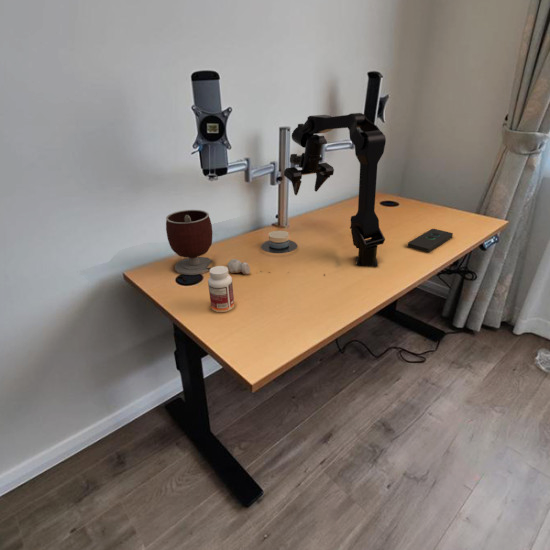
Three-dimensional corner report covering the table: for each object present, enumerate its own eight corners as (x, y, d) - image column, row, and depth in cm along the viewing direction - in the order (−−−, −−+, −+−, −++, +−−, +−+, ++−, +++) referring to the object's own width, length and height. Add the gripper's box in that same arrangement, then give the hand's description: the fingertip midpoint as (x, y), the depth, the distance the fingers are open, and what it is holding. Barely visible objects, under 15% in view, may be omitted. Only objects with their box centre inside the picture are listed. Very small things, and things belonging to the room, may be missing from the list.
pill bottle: (224, 298, 101) (220, 262, 96) (239, 306, 98) (236, 268, 92) (206, 307, 97) (201, 270, 92) (221, 315, 94) (217, 277, 88)
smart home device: (454, 232, 136) (429, 248, 124) (453, 237, 137) (428, 253, 125) (432, 227, 141) (406, 242, 129) (431, 232, 142) (406, 247, 130)
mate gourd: (173, 260, 125) (163, 202, 115) (214, 255, 127) (207, 198, 118) (172, 281, 111) (161, 217, 102) (218, 275, 114) (211, 213, 105)
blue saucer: (287, 250, 127) (287, 244, 126) (267, 249, 128) (267, 243, 127) (290, 242, 133) (290, 236, 132) (270, 241, 134) (270, 235, 133)
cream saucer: (287, 244, 126) (287, 238, 125) (267, 243, 127) (266, 237, 126) (290, 236, 132) (290, 230, 131) (270, 235, 133) (270, 230, 132)
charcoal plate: (295, 257, 124) (295, 254, 124) (257, 255, 126) (257, 252, 126) (299, 242, 136) (299, 239, 135) (264, 241, 138) (264, 238, 137)
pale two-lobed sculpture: (226, 273, 117) (237, 264, 119) (242, 281, 112) (253, 271, 114) (221, 263, 114) (233, 254, 117) (237, 270, 109) (249, 260, 112)
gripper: (320, 142, 138) (313, 180, 148) (278, 146, 130) (273, 187, 140) (338, 153, 131) (330, 192, 141) (295, 159, 123) (289, 200, 133)
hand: (305, 192), depth 139 cm, fingers open, 9 cm apart
